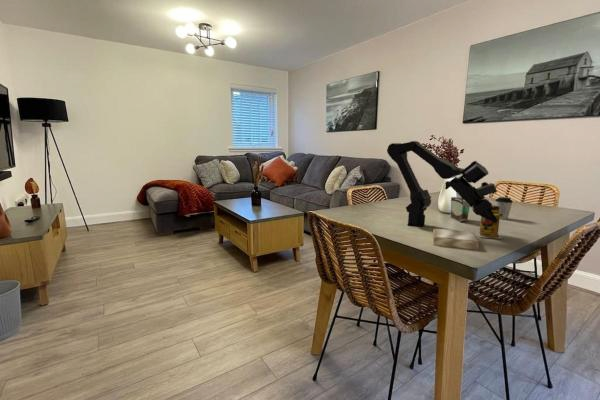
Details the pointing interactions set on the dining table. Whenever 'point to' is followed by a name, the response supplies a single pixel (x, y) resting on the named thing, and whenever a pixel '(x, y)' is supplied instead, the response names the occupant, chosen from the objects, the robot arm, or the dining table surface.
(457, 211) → the food container
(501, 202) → the coffee cup
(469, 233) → the picture frame
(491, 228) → the condiment
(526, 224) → the dining table surface
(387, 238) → the dining table surface
